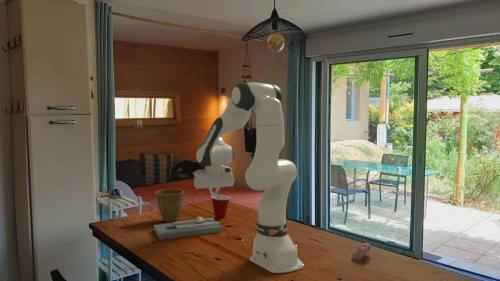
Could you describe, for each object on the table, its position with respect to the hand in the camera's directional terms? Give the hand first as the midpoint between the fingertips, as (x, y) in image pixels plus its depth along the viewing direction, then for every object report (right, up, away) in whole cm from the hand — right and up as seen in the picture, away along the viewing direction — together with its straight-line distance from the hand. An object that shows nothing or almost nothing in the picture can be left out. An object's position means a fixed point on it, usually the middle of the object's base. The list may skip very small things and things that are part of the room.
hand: (214, 196), depth 189 cm
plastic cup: (+2, -15, +19) cm, 24 cm away
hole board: (-13, -16, -5) cm, 21 cm away
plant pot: (-25, -15, +13) cm, 32 cm away
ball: (-7, -12, -3) cm, 14 cm away
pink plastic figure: (+63, -19, -38) cm, 76 cm away
